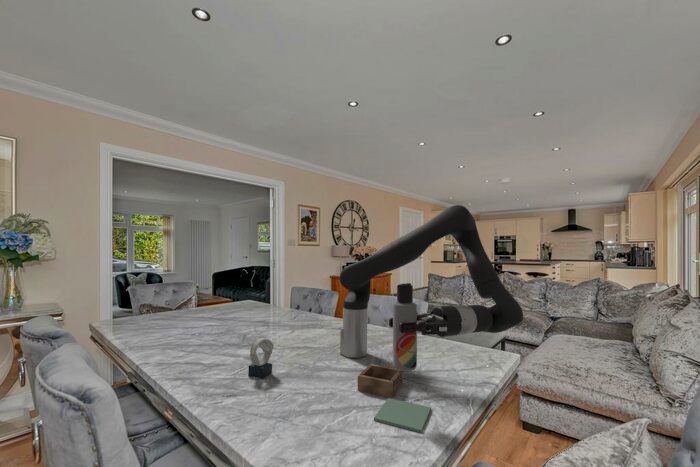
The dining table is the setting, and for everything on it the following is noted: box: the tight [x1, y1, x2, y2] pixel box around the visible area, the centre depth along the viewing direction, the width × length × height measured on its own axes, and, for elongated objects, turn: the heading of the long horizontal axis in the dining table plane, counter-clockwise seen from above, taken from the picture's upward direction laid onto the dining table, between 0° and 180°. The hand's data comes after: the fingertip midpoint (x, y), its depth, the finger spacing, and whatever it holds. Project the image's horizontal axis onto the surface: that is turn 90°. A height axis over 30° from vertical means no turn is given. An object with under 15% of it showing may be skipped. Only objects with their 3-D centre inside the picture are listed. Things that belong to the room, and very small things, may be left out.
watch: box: [247, 337, 275, 380], centre depth 99 cm, size 6×8×11 cm
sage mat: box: [373, 397, 432, 434], centre depth 76 cm, size 11×11×1 cm
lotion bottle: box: [392, 282, 418, 372], centre depth 77 cm, size 6×6×20 cm
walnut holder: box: [357, 363, 403, 399], centre depth 91 cm, size 10×10×4 cm
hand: (394, 325), depth 76 cm, fingers closed on lotion bottle, 4 cm apart
